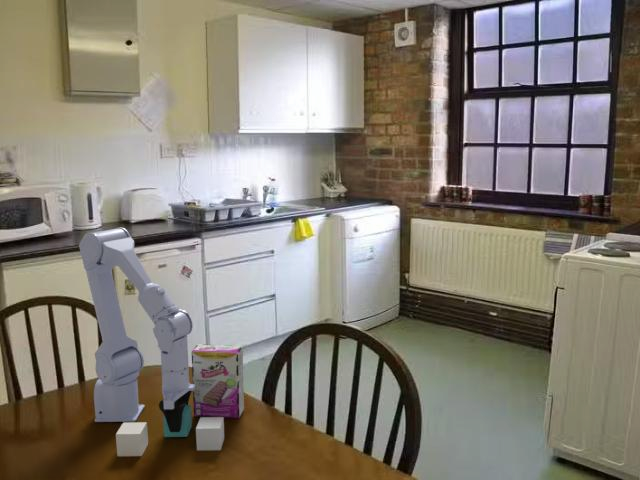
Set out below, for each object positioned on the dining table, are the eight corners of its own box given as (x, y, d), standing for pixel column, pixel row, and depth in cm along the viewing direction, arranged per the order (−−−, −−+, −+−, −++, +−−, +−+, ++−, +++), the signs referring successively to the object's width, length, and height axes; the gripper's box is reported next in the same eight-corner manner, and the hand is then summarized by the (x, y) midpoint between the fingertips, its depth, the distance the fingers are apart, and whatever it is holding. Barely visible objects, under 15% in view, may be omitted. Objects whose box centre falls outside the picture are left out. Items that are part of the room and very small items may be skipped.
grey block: (196, 450, 126) (195, 428, 125) (201, 438, 131) (200, 417, 130) (220, 450, 126) (219, 428, 125) (224, 438, 131) (223, 417, 130)
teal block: (164, 436, 131) (163, 415, 130) (169, 425, 136) (168, 405, 135) (187, 436, 131) (186, 415, 130) (191, 425, 136) (190, 404, 135)
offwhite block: (117, 456, 124) (115, 434, 123) (124, 444, 129) (123, 422, 128) (141, 456, 124) (140, 434, 123) (148, 444, 129) (146, 422, 128)
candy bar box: (193, 417, 140) (190, 351, 137) (199, 408, 145) (196, 343, 142) (240, 419, 139) (238, 352, 136) (245, 409, 144) (243, 344, 141)
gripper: (186, 380, 123) (189, 441, 126) (199, 354, 138) (202, 409, 140) (152, 380, 123) (155, 441, 126) (169, 354, 138) (171, 410, 140)
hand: (178, 425), depth 133 cm, fingers closed on teal block, 5 cm apart
